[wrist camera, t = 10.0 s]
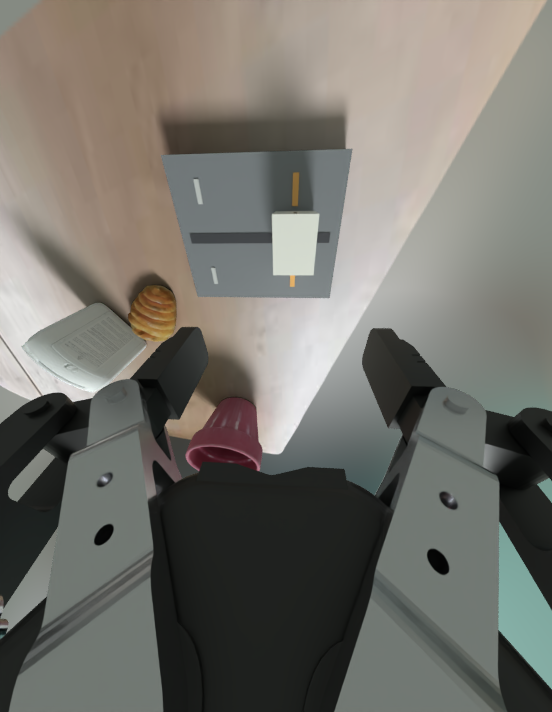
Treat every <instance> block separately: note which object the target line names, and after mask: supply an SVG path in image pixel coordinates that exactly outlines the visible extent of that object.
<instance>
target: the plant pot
mask: <svg viewBox="0 0 552 712" xmlns="http://www.w3.org/2000/svg"><path fill="white" fill-rule="evenodd" d="M261 458H262V447H261V445H260V443H259V441H258V427H257V412H256V408H255V407H254V405H253V404H252V403H250V402H249V401H247V400H245V399H242V398H237V397H231V398H226V399H224V400H222V401H221V402H220V403H219V405H218V406H217V408H216V409H215V411H214V412H213V414H212V415H211V417H210V418H209V419H208V421H207V423H206V424H205V426H204V427H203V429H201V430H199V431H198V432H196V433H195V434H194V436H193V438H192V440H191V442H190V444H189V447H188V449H187V452H186V459H187V461H188V463H189V464H190V465H191V466H192V467H194V468H195V469H197V470H198V471H199V470H200V467H201V464H202V462H219V463H236V464H239V465H242V466H245V467H248V468H250V469H253V470H256V471H259V470H260V465H261Z"/></svg>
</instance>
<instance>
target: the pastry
mask: <svg viewBox="0 0 552 712" xmlns="http://www.w3.org/2000/svg"><path fill="white" fill-rule="evenodd" d="M128 319H129V322H130V323H131V327H132V331H133V333H134V334H136V335H137V336H139V337H140V338H142V339H145V340H151V341H163V340H166V339H168V337H169V336H170V335H171V334H173V332H174V329H175V326H176V300H175V297H174V294H173V293H172V292H171V291H170V290H168V289H167V288H165V287H163V286H159V285H151V286H146V287H145V288H144V290H143V291H142V292H140V293H139V295H138V297H137V298H136V299H135V300H134V301H133V302H132V305H131V312H130V313H129V314H128Z"/></svg>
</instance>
